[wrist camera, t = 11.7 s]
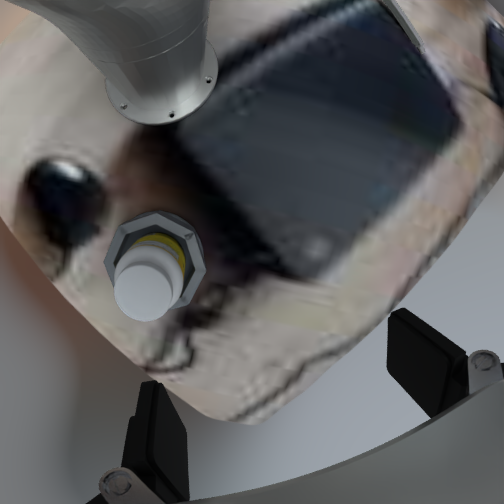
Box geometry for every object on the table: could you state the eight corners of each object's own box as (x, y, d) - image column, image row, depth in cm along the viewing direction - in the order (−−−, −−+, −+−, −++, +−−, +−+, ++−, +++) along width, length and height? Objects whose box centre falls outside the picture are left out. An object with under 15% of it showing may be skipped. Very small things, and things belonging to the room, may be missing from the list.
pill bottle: (168, 294, 34) (158, 343, 23) (122, 265, 32) (92, 305, 21) (197, 249, 33) (196, 283, 22) (149, 219, 31) (126, 239, 21)
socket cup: (102, 227, 31) (91, 234, 28) (187, 198, 32) (186, 201, 29) (133, 309, 34) (127, 323, 31) (215, 285, 35) (217, 297, 32)
